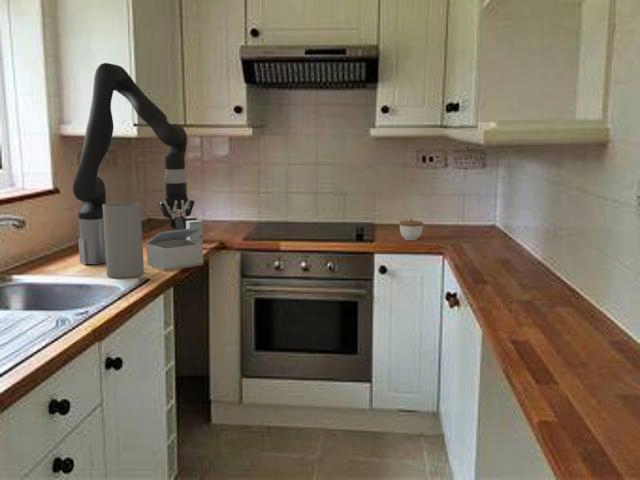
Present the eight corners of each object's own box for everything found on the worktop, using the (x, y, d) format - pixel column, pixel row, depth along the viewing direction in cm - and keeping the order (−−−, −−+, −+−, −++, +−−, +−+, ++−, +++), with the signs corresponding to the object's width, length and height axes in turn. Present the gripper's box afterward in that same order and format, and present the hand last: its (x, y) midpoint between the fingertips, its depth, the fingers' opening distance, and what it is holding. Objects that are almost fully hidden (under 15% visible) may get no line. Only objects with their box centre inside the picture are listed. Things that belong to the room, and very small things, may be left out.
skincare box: (190, 250, 271) (189, 222, 268) (186, 249, 274) (185, 220, 272) (204, 249, 274) (202, 220, 272) (199, 247, 278) (198, 219, 276)
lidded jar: (401, 236, 303) (401, 216, 301) (424, 237, 300) (424, 217, 298) (397, 240, 292) (397, 219, 291) (421, 241, 290) (421, 220, 288)
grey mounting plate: (161, 233, 231) (157, 218, 231) (146, 243, 242) (143, 229, 243) (201, 229, 241) (197, 214, 241) (185, 238, 252) (182, 225, 252)
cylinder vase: (147, 270, 233) (144, 202, 229) (139, 278, 221) (135, 206, 216) (113, 271, 233) (108, 202, 228) (102, 279, 221) (97, 206, 216)
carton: (163, 271, 233) (162, 249, 231) (147, 264, 243) (146, 243, 242) (203, 265, 242) (202, 244, 241) (186, 259, 253) (185, 239, 252)
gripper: (162, 183, 228) (164, 231, 230) (198, 181, 236) (199, 227, 239) (153, 182, 233) (155, 229, 236) (188, 179, 242) (190, 225, 245)
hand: (177, 228), depth 238 cm, fingers closed on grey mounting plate, 3 cm apart
